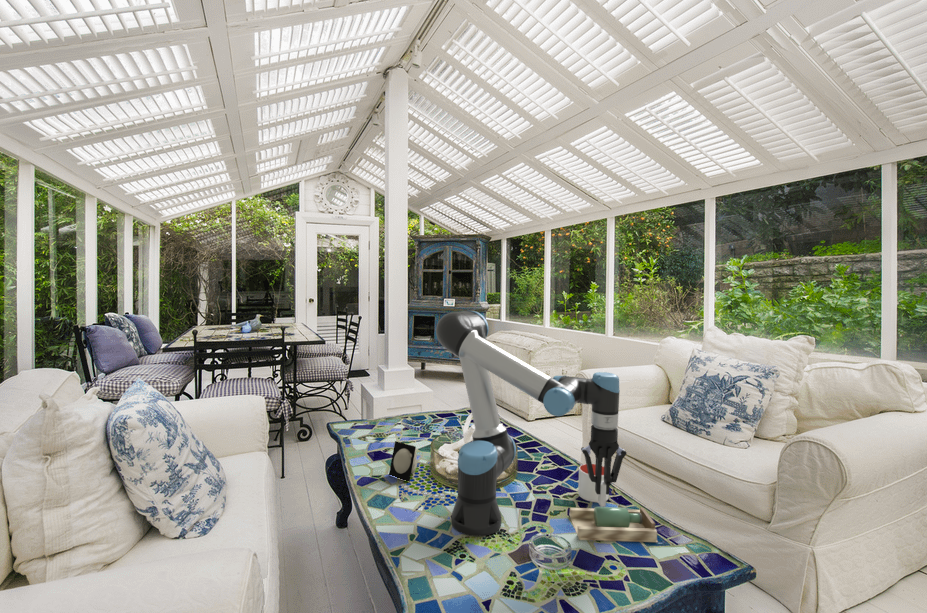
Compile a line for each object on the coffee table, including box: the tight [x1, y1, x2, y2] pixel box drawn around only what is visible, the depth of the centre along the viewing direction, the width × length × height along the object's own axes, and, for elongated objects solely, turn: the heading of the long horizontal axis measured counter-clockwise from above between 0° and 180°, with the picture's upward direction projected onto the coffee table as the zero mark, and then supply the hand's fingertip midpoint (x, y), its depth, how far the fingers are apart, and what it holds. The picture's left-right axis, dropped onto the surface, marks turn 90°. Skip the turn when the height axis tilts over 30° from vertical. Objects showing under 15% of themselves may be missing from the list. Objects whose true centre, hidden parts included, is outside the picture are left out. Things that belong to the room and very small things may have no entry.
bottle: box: [594, 506, 643, 528], centre depth 133 cm, size 5×5×13 cm
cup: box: [577, 463, 610, 503], centre depth 153 cm, size 10×10×10 cm
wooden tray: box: [568, 507, 659, 543], centre depth 133 cm, size 22×14×5 cm, turn 89°
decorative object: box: [388, 440, 418, 483], centre depth 168 cm, size 13×10×10 cm
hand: (601, 504), depth 133 cm, fingers closed
